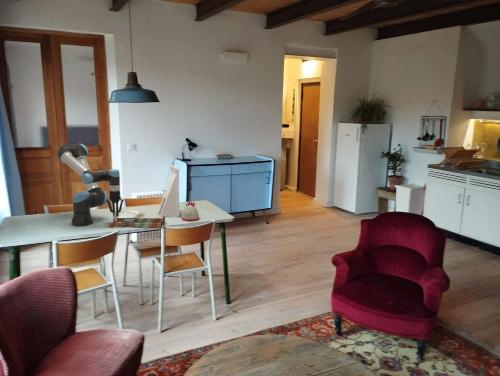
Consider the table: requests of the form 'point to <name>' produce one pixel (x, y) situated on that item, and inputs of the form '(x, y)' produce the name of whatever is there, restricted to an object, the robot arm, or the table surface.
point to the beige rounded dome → (190, 212)
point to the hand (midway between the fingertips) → (115, 220)
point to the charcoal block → (128, 221)
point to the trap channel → (139, 223)
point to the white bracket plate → (171, 196)
